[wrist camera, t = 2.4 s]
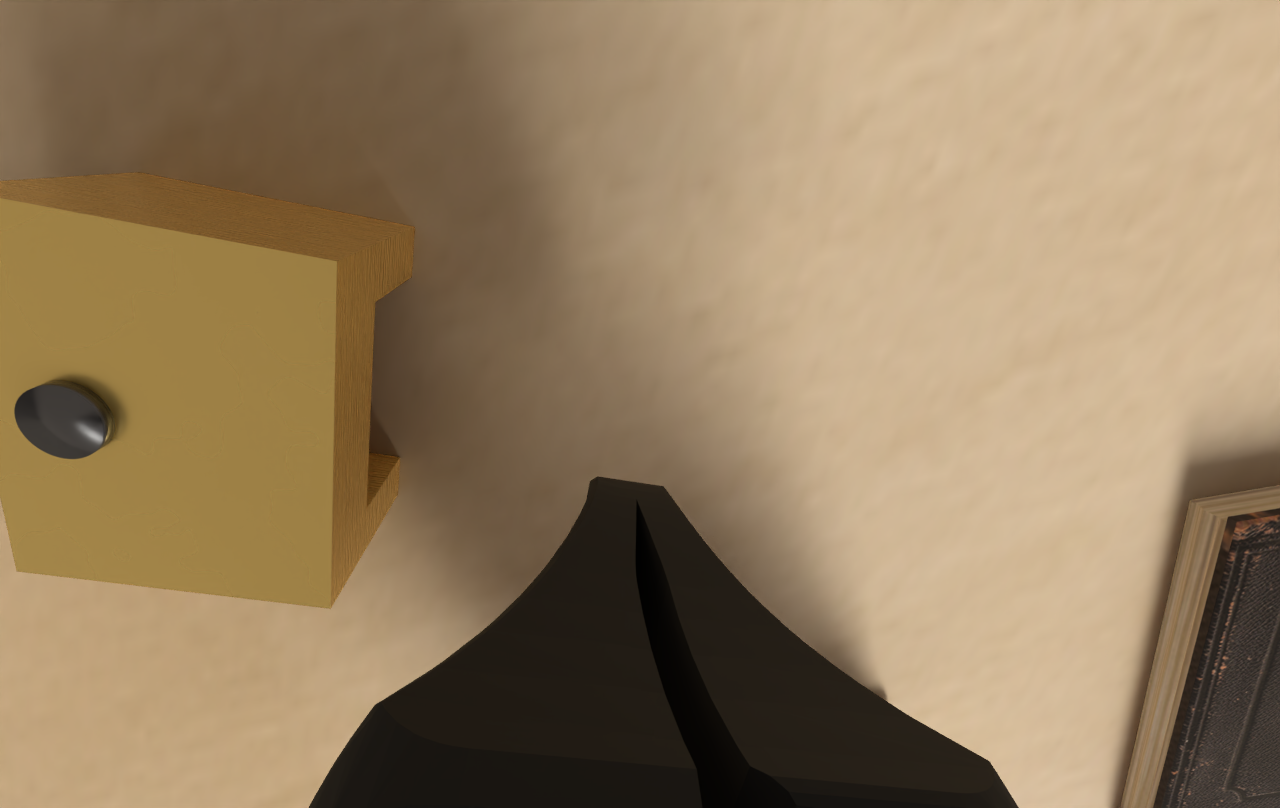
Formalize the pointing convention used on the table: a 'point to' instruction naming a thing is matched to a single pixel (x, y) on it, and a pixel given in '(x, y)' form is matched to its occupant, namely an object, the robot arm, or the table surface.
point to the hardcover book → (1216, 665)
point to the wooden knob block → (190, 385)
